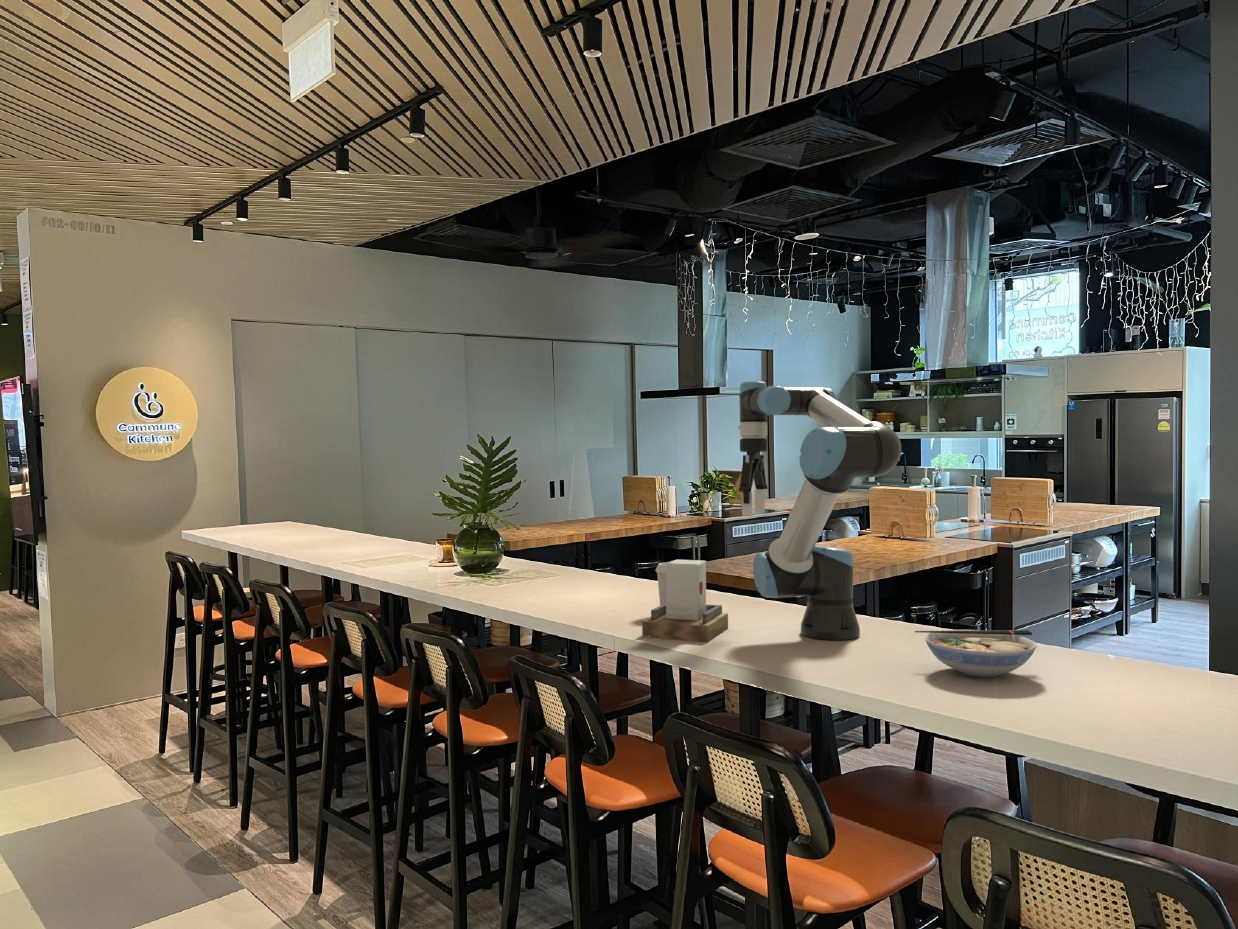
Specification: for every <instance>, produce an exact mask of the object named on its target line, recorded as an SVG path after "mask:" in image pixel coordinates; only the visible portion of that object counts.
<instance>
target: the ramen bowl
mask: <svg viewBox="0 0 1238 929" xmlns="http://www.w3.org/2000/svg"><path fill="white" fill-rule="evenodd" d="M914 633H924V634H925V633H927V634H925V635H924V640H925V642H926V645H927V647H928V648H929V650H930V652H932V655H933V656H935V658H936V659H937V660H938V661H940V662H941V663H943V664H944V665H946V666H947V667H950V668H951V669H954V670H955V671H958V672H959V673H961V674H963V675H964V674H965V676H968V677H972V676H974V677H973V678H980V677H981V678H984V679H986V678H987V679H988V678H989V679H992V678H996V677H998V676H999V675H1003V674H1007V673H1010V672H1013V671H1015V670H1017V669H1018V668H1021V666H1023V665H1025V663H1026V662H1027V661H1029V660H1030V658H1031V657H1032V656H1033V654H1034V652H1035V651H1036V649H1037V647H1038V645H1037V643H1036V641H1034V640H1032V639H1030V638H1028V637H1024V636H1032V635H1033V633H1032V631H1030V630H1029V629H1022V630H1021V629H1020V630H1019V629H1018V630H1016V629H1014V630H1013V629H1011V630H1007V629H1006V630H1005V629H1004V630H1002V629H1001V630H999V629H998V630H995V629H994V630H982V629H981V630H979V629H978V630H977V629H944V630H914ZM981 678H980V679H981Z"/></svg>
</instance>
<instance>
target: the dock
mask: <svg viewBox="0 0 1238 929" xmlns="http://www.w3.org/2000/svg"><path fill="white" fill-rule="evenodd" d="M641 625H642V626H641V627H642V628H641V630H642V631H641V634H642V636H651V637H650V638H653V637H657V638H656V639H668V640H678V641H679V640H680V641H690V642H703V643H704V642H706V643H709V642H711V641H712V640H714V639H716V636H717V637H719V636H720V635H721V634H722V633H724V632H725V631H727V630H728V629H729V612H723V605H722V604H707V603H706V612H705V613H703V618H701V619H700V620H698V621H693V620H677V619H666V603H665V604H663V605H661V606H660V605H658V606H657V607H655V608H653V609H651V610H650V617H648V618H646V619H644V620H642V622H641ZM642 636H641V637H642Z"/></svg>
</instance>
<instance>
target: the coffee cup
mask: <svg viewBox="0 0 1238 929" xmlns="http://www.w3.org/2000/svg"><path fill="white" fill-rule="evenodd" d="M669 562H670V561H667V562H660V563H658V565H657V567H656V568H655V572H656V574H657V584H658V597H659V606H661V605H663V604H665V603H666V568H667V563H669Z"/></svg>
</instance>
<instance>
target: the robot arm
mask: <svg viewBox="0 0 1238 929" xmlns="http://www.w3.org/2000/svg"><path fill="white" fill-rule="evenodd" d="M738 398H739V425H738V426H737V430H739V436H740V437H741V438H740V439H739V451H740V452H741V453H746V455H745V454H744V455H743V456H742V466H741V467H742V468H741V474H740V482H739V483H740V484H739V488H738V492H740V493H741V517H744V516H745V517H753V514H754V513H762V514H763V513H765V505H766V504H765V498H766V496H765V495H766V494H765V490H768V484H767V477H766V469H765V461H764V460H765V459H764V457H765V456H764V454H761V452H762V453H766V452H767V451H768V439H767V438H766V437H768V416H806V417H809V418H811V419H812V420H814V421H815V422H817V423H818V424H819V425H821V426H823V427H816V428H814V429H812V430H811V431H809V432H808V433H807V434H806V436H805V437H804V439H803V441H802V443H801V446H800V449H799V450H800V451H799V452H800V455H799V465H800V466H799V467H800V470H802V473H803V477H804V482H803V483H802V484H803V485H802V487H801V488H800V491H799V494H798V496H797V498H796V501H795V502H794V505H793V507H792V509H791V511H790V513H789V514H790V515H789V516H788V518H787V521H786V523H785V525H784V528H783V530H782V533H781V534H780V537H779V538H777V539H775V540H773V541H772V542H771V543H770V545H769V547H768V550H767V552H762V551H761V552H758V553H756V554H755V556H754V558H753V560H752V561H753V562H752V574H753V579H754V580H753V581H754V583H755V586H756V589H757V591H758V593H759V594H760V595H761V596H762V597H763V598H768V599H769V598H770V599H771V598H772V599H781V598H782V599H783V598H796V597H797V598H798V597H807V605H806V608H805V612H804V614H803V618H802V621H801V623H800V634H801V635H803V636H804V637H807V638H811V639H817V640H825V641H826V640H827V641H828V640H832V641H842V640H843V641H846V640H852V639H857V638H859V637H860V636H861V633H860V632H861V627H860V624H859V621H858V617H857V615H856V610H855V609H854V595H853V594H854V568H855V567H854V560H853V554H852V552H851V551H850V550H848V549H846V548H839V547H833V546H826V545H819V544H818V545H817V542H818V541H819V538H820V536H821V534H822V532H823V529H824V528H825V525H826V523H827V521H828V519H829V517H830V515H831V514H832V511H833V509H834V507H835V505H836V503H837V501H838V498H839V497H840V495H842V494H845V493H847V492H848V491H850V488H851V487H852V485H853V483H854V481H855V479H859V478H862V479H863V478H878V477H882V476H884V475H886V474H888V473H890V472H891V471H892V470H893V469H894V468H896V466H897V464H898V462H899V461H900V458H901V456H902V442H901V440H900V437H899V436H898V434H897V433H896V431H894V430H893V429H892V428H890V427H889V426H887V425H886V424H884V423H883V422H880V421H871V420H869V419H867V418H866V417H864V416H863V415H862V414H859V413H858V412H857V411H855V410H853V409H852V408H849V407H848V406H847V405H845V404H843V403H842V402H840V401H839V400H838V399H837V396H836V394H835V392H834V389H831V388H829V387H822V386H817V387H811V386H808V387H807V386H806V387H804V386H803V387H799V386H798V387H795V386H790V387H789V386H780V385H767V383H766V382H765V381H744V382H742V383H740V386H739V394H738ZM753 482H754V483H753ZM753 484H754V486H755V489H754V499H753V491H752V488H753ZM753 500H754V506H753ZM753 507H754V509H753ZM753 510H754V513H753Z"/></svg>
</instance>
